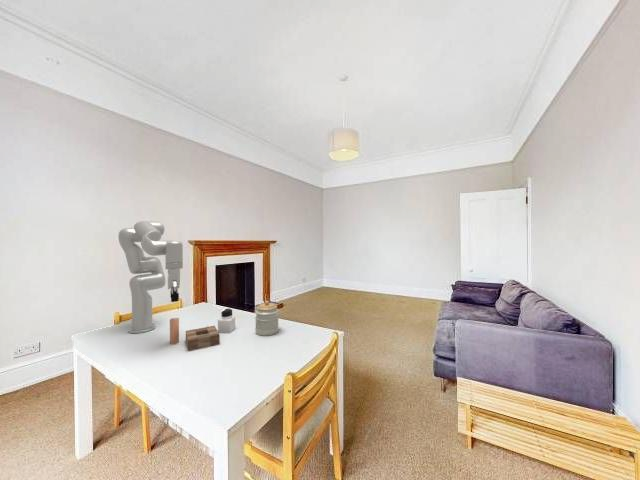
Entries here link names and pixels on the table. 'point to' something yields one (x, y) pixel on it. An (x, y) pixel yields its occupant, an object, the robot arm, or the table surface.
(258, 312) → the jar
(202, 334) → the socket block
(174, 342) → the peg
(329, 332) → the table surface
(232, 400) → the table surface
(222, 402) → the table surface
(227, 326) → the medicine bottle
